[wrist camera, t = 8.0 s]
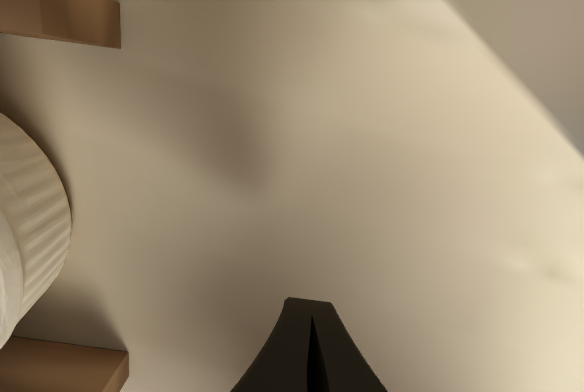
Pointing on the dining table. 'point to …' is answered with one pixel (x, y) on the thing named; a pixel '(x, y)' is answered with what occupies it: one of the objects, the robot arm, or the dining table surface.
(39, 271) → the ramekin
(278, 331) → the robot arm
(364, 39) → the dining table surface
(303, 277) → the dining table surface
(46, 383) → the shallow wooden tray
